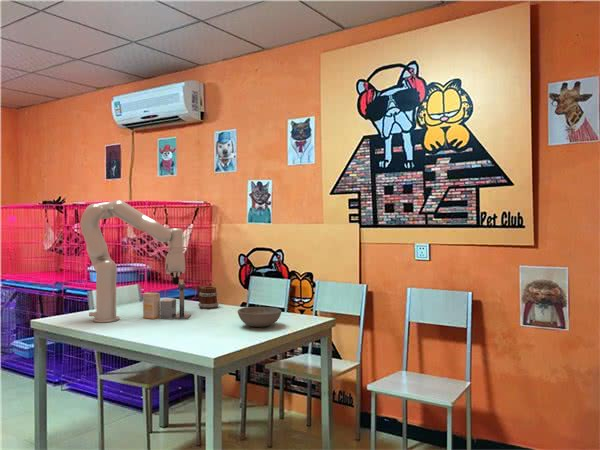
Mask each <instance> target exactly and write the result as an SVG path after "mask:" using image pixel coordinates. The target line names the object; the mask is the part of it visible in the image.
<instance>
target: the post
mask: <svg viewBox="0 0 600 450" xmlns="http://www.w3.org/2000/svg"><path fill="white" fill-rule="evenodd" d="M178 291H179V293H178V294H179V314H177V313H176V315H175V316H174V317H172V319H171V320H188V319H190V318H191V317H192V314H191V313H190V314H189V313H188V314H185V288H179V289H178Z"/></svg>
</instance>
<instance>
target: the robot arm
mask: <svg viewBox="0 0 600 450" xmlns="http://www.w3.org/2000/svg"><path fill="white" fill-rule="evenodd" d="M110 218H118V219H120V221H123V222H125V223H126V224H128V225H129V226H131V227H133V228H135V229H137V230H139V231H141V232H144V233H146V234H148V235H150V236H152V237H153V239H154V240H155V241H156V242H159V243H167V242H168V253H166V258H165V263H164V265H165V267H164V269H165V272H166V273H165V274H167V275H170V276H171V278H172V285H175V286H176V285H178V283H179V280H180V276H181V275H182V274H185V273H186V258H185V254H184V252H185V248H184V247H183V245H184V244H183V243H184V242H183V241H184V240H183V236H184V233H183V232H184V230H183V229H182V228H179V227H178V228H174V227H173V228H167V227H165V226H164V225H162V224H161V223H159V222H158V221H156V220H154V219H153V218H151V217H149V216H148V215H146V214H144V213H142V212H141V211H140V210H137V209H136V208H135V207H133V206H132V205H130V204H129V203H126V202H125V201H124V200H121V199H116V200H113V201H112V200H111V201H108V202H100V203H91V204H89V205H87V206H86V208H85V210H84V211H83V212H82V215H81V217H80V229H81V233H82V237H83V238H84V241H85V244H86V253H87V254H88V257H89V260H90V262H91V265H92V267H93V269H94V271H95V273H96V275H95V276H96V277H95V278H96V279H95V280H96V282H95V291H96V292H95V295H96V297H95V298H96V299H95V300H96V304H95V305H96V306H95V307H96V309H95V311H93V312H91V311H90V312H89V313H88V316H89V317H93V319H92V321H93V322H94V323H111V322H117V321H119V320H120V318H121V317H120V316H118V315H117V275H118V268H117V267H118V266H117V263H115V261H114V260H113V259H112V258H111V256H110V253H109V251H108V250H109V249H108V244H107V242H106V239H105V238H104V235H103V233H102V230H101V228H100V220H106V219H110Z"/></svg>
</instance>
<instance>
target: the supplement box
mask: <svg viewBox="0 0 600 450" xmlns="http://www.w3.org/2000/svg"><path fill="white" fill-rule="evenodd" d="M160 301H161V293H160V292H154V291H153V292H151V291H150V292H149V291H147V292H144V293H142V306H143V307H142V312H143V313H142V316H143V319H152V320H156V319H160Z"/></svg>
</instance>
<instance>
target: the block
mask: <svg viewBox="0 0 600 450" xmlns="http://www.w3.org/2000/svg"><path fill="white" fill-rule="evenodd" d="M176 314H177V299H176V298H164V299H162V300H160V318H159V320H173V319H172V317H174V316H175V315H176Z"/></svg>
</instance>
